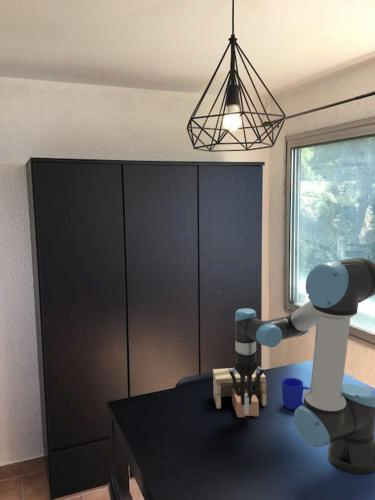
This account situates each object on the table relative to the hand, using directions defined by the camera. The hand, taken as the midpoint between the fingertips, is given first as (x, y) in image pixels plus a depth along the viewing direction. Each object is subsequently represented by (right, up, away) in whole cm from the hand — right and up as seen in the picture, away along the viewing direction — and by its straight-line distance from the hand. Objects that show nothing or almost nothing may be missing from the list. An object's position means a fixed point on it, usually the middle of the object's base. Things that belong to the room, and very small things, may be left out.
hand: (246, 412), depth 162 cm
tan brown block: (+1, -2, +8) cm, 8 cm away
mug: (+21, -1, +8) cm, 22 cm away
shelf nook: (-1, -1, +14) cm, 14 cm away
